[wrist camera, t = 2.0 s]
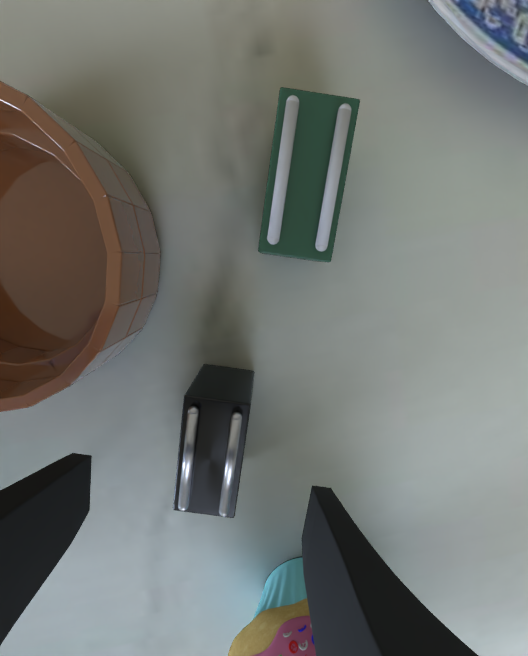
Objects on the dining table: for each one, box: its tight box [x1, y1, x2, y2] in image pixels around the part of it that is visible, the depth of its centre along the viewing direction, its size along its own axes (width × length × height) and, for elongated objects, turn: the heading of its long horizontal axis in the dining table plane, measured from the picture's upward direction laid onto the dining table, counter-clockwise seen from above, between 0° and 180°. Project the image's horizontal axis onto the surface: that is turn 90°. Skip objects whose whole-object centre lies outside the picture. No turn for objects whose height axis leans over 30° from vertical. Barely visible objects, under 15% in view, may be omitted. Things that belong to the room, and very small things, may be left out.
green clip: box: [258, 87, 360, 262], centre depth 12 cm, size 5×2×4 cm, turn 172°
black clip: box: [173, 364, 255, 518], centre depth 15 cm, size 5×2×4 cm, turn 172°
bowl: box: [0, 81, 161, 412], centre depth 13 cm, size 11×11×4 cm
